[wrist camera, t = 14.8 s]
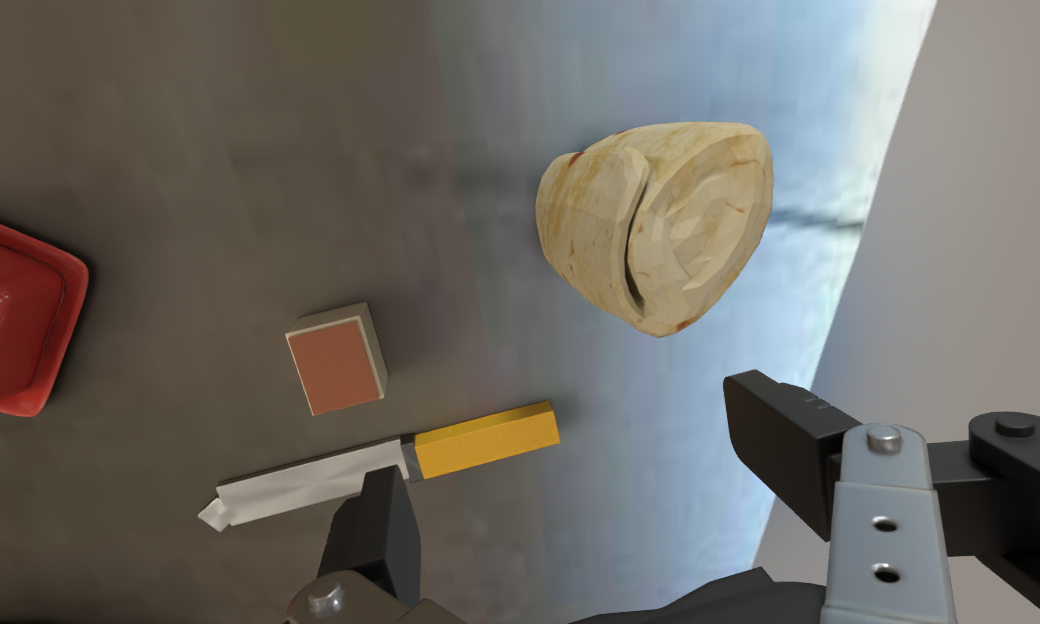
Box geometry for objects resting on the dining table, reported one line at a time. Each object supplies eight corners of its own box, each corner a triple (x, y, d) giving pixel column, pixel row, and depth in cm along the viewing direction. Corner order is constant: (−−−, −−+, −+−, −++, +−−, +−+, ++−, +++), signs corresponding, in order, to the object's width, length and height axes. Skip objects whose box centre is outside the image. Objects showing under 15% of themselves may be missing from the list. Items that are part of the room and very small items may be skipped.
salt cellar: (323, 393, 42) (311, 419, 38) (298, 317, 41) (282, 336, 36) (388, 376, 42) (383, 401, 38) (366, 301, 41) (358, 317, 37)
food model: (586, 283, 43) (714, 382, 24) (502, 243, 41) (565, 313, 22) (652, 156, 41) (845, 150, 22) (567, 109, 40) (695, 59, 21)
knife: (209, 530, 43) (198, 547, 41) (192, 489, 42) (180, 504, 40) (556, 437, 45) (562, 449, 43) (547, 395, 44) (552, 406, 42)
